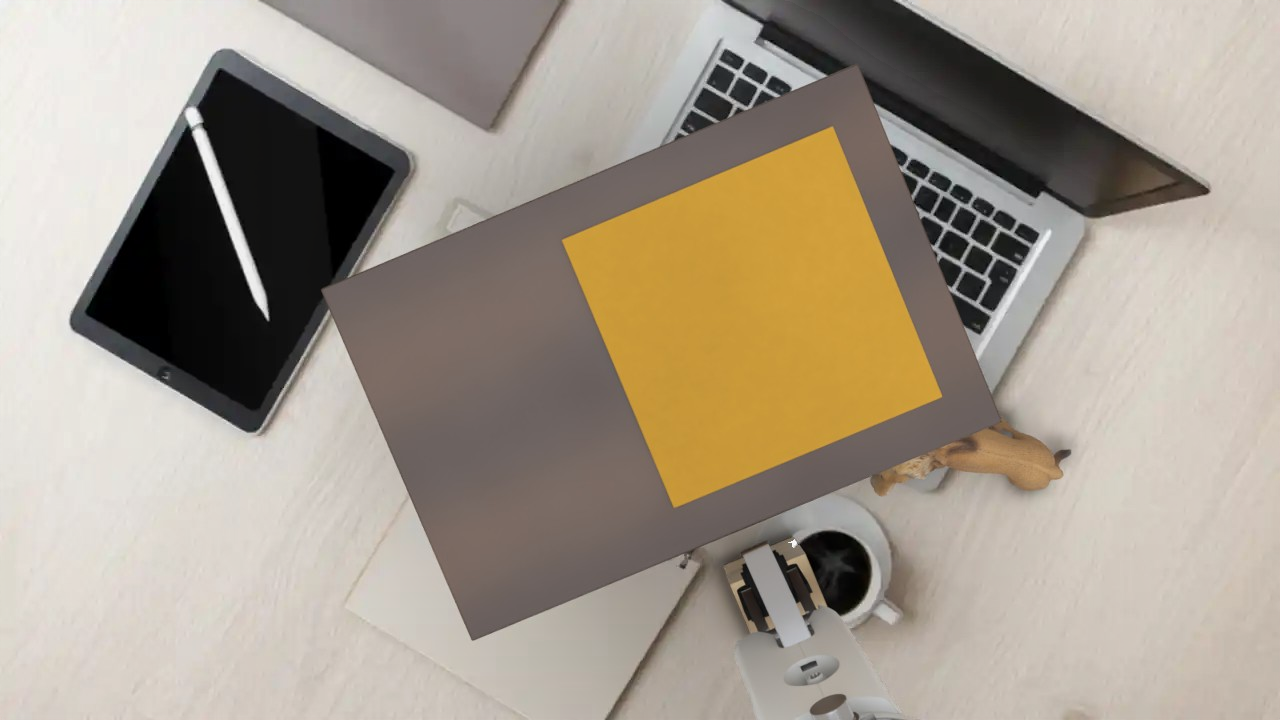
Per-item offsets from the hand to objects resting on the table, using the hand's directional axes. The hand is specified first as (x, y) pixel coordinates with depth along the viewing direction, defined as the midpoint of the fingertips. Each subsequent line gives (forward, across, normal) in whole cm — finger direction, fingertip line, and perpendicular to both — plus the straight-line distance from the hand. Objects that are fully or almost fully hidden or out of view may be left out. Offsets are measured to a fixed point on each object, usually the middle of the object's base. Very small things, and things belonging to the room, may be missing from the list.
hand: (808, 670), depth 54 cm
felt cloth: (-8, -17, +4) cm, 19 cm away
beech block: (+18, +1, 0) cm, 18 cm away
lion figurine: (+18, -3, +14) cm, 24 cm away
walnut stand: (+18, -17, 0) cm, 25 cm away
